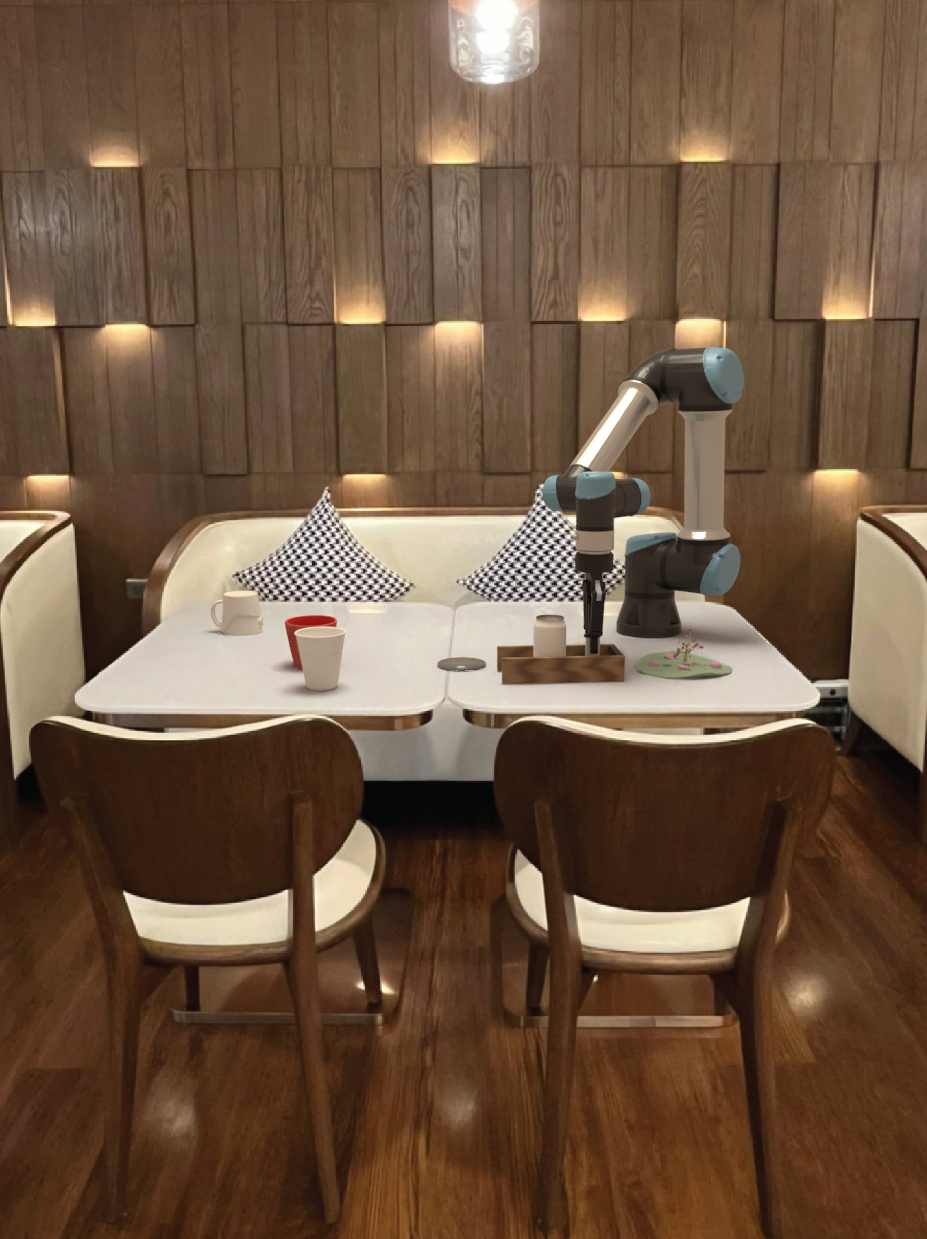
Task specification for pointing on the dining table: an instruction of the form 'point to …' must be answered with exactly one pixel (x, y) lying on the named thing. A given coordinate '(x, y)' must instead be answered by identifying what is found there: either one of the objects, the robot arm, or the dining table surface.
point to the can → (549, 636)
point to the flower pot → (301, 623)
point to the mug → (239, 613)
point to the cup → (320, 656)
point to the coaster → (461, 664)
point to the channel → (560, 665)
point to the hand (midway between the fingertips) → (592, 667)
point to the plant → (680, 664)
